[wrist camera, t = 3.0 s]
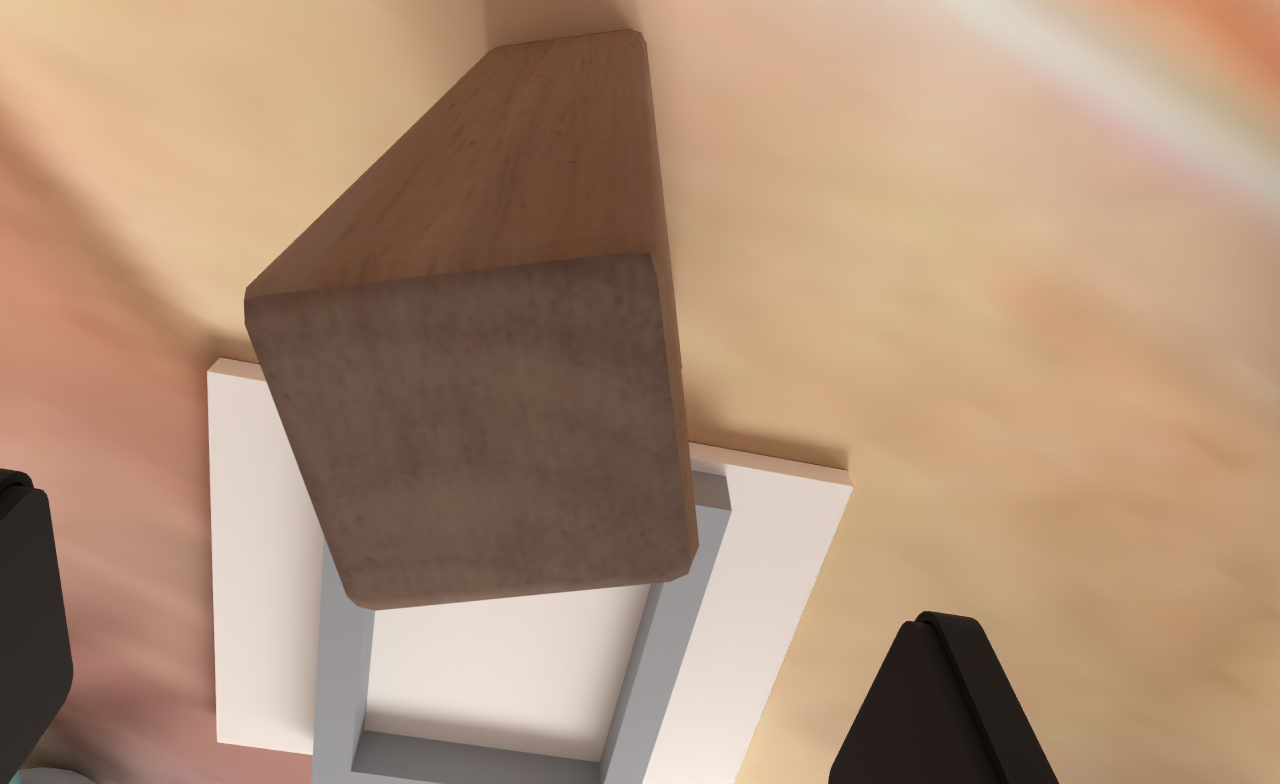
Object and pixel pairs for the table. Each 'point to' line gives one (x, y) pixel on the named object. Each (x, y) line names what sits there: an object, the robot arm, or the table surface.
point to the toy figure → (49, 776)
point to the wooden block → (493, 343)
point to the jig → (503, 633)
